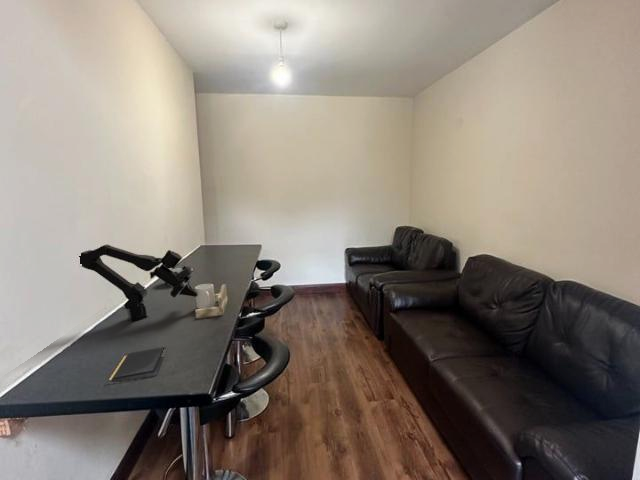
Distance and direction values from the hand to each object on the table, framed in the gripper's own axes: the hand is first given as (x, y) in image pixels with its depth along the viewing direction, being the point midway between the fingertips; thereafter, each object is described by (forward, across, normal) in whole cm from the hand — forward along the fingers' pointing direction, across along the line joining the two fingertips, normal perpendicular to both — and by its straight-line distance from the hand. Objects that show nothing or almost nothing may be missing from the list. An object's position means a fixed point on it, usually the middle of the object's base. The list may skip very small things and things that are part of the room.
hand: (196, 295), depth 157 cm
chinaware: (-12, +54, +21) cm, 60 cm away
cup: (+8, +2, +3) cm, 8 cm away
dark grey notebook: (-2, -46, +14) cm, 48 cm away
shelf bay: (+9, 0, +1) cm, 9 cm away
